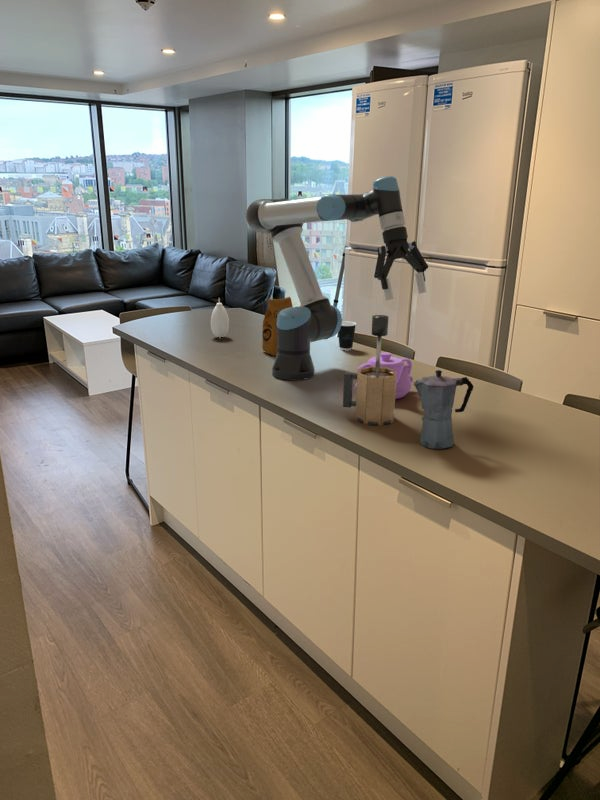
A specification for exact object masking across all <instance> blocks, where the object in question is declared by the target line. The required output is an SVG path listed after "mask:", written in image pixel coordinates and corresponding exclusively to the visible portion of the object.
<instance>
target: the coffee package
mask: <svg viewBox="0 0 600 800" xmlns="http://www.w3.org/2000/svg"><path fill="white" fill-rule="evenodd" d="M267 303H268V306H267V308H266V312H265V314H264V318H263V321H262V325H261V326H262V331H261V332H262V334H261V335H262V342H261V343H262V346H261V348H262V351H263V352H264V351H265V352H264V353H266V352H267V353H266V354H268V355H269V354H271V356H276V355H277V316H278V313H279V312H280V311H281V310H283V309H286V308H290V307H294V306H293V301H292V298H291V296H287V297H285V298H282V299H277V298H267Z"/></svg>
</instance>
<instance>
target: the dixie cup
mask: <svg viewBox="0 0 600 800" xmlns="http://www.w3.org/2000/svg"><path fill="white" fill-rule="evenodd" d="M356 325H357V322H355V321H345V320H342V325H341V327H340V331H339V332H338V333H337V334H338V345H339V346H338V347H339V350H340V351H343V350H345V352H349V350H350V351H352V350H353V346H354V341H355V340H354V338H355V331H356ZM351 349H352V350H351Z"/></svg>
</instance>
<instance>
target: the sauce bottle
mask: <svg viewBox="0 0 600 800" xmlns="http://www.w3.org/2000/svg"><path fill="white" fill-rule="evenodd" d="M220 301H221V300H220V298H218V302H217V303H216V305H215V307H214V308H213V310H212V313H211V317H210V329H211V332H212V334H213V335H214V336H215V337H216V336H217V337H216V338H218V337H223V338H224V337H225V336H227V334H228V332H229V330H230V329H229V328H230V320H229V315H228V312H227V309H226V308H225V307H224V305H223V303H222V302H220Z"/></svg>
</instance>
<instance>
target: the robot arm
mask: <svg viewBox="0 0 600 800" xmlns="http://www.w3.org/2000/svg"><path fill="white" fill-rule="evenodd" d="M402 205H403V204H402V200H401V193H400V188H399V184H398V180H397V178H396V177H395V176H391V175H389V176H383V177H380V178H378V179H375V180H374V181H373V183H372V189H371V190H369V191H367V192H365V193H361V194H356V193H355V194H336V193H330V194H325V195H322V196H314V197H308V198H306V197H305V198H300V199H299V198H298V199H290V198H283V197H282V198H260V199H257V200H254V201H253V202H251V203H250V204H249V205H248V207H247V209H246V213H245V219H246V221H247V224H248V226H249V227H250V228H251V229H252V230H253V231H255V232H258V233H261V234H263V233H264V234H265V233H266V234H270V235H271V238H272V240H273V242H274V243H277V244H278V245H279V248H280V251H281V253H282V256H283V259H284V262H285V264H286V267H287V271H288V272H289V273H288V274H289V275H290V278H291V280H292V281H291V282H292V283H293V286H294V288H295V292H296V294H297V297H298V299H299V303H300V304H299V306H293V307H290V308H286V309H283V310H281V311H280V312H279V313H278V316H277V355H275V359H274V362H273V365H272V369H271V370H272V372H271V373H272V376H273V377H274V378H277V379H281V380H286V381H302V380H307V379H311V378H313V377H314V376H315V371H316V370H315V365H314V362H313V359H312V356H311V343H314V342H317V341H321V340H328V339H331V338H333V337H336V335H337V334H338V332H339V331H340V327H341V325H342V321H343V317H342V314H341V311H340V309H339V308H338V307H336V306H335V305H333V304H331V302H330V300H329V297H327V296H325V295H323V293H322V290H321V287H320V284H319V282H318V279H317V276H316V274H315V270H314V268H313V266H312V265H313V264H312V261H311V260H310V257H309V255H308V252H307V249H306V246H305V244H304V243H305V242H304V241H303V237H302V233H303V230H304V228H303V226H304V224H306V223H309V224H310V223H317V222H319V223H320V222H329V221H330V222H331V221H344V220H346V221H347V220H348V221H350V222H352V223H357V222H362V221H364V220H366V219H368V218H371V217H373V216H376V215H378V219H379V224H380V230H381V231H382V238H383V239H382V240H383V243H384V245H381V246H378V247H377V258H376V259H377V260H376V265H375V270H374V274H373V277H374V278H375V279H377V280H378V281H380V285H381V289H382V290H384V292H383V293H384V296H385V300H386V301H389V300H393V299H394V296H393V290H392V285H391V279H390V277H388V275H389V273H390V271H391V269H392V266H393V264H394V261H395V260H398V259H399V260H400V259H403V260H405V261H406V262H407V263H408V264H409V265H410V266H411V267H412V268H413V270H414V271H416V272H417V273H414V275H415V279H416V281H415V282H416V284H417V285H416V286H417V290H418V294H423V293H427V289H426V284H425V283H426V275H425V271H427V269H429V265H428V263H427V262H426V260H425V258H424V257H423V255H422V253H421V252H420V250H419V248H418V245H417V242H416V241H415V240H413V241H410V242H408V237H409V236H408V230H407V227H406V226H405V225H406V220H405V215H404V211H403V206H402Z"/></svg>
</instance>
